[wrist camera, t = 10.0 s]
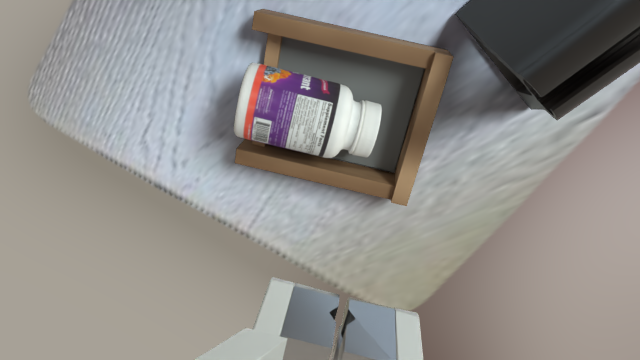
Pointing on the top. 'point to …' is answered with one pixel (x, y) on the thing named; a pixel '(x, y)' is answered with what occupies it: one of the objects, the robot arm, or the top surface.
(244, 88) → the pill bottle
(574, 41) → the phone stand
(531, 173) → the top surface
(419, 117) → the tray
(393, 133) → the mat
